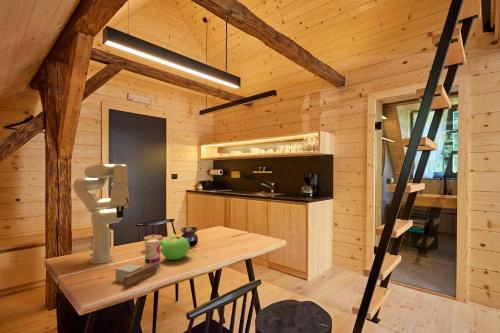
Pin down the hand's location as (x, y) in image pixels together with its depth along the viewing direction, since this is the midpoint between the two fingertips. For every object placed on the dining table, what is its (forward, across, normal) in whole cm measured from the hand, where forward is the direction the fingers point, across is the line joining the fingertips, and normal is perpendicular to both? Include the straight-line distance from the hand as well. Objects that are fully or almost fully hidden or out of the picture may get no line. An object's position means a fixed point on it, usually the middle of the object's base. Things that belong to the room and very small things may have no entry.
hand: (119, 217), depth 154 cm
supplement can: (+29, +16, +9) cm, 35 cm away
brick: (+29, +17, -10) cm, 35 cm away
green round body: (+29, +20, +25) cm, 43 cm away
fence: (+29, +23, -8) cm, 38 cm away
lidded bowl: (+29, -5, +34) cm, 45 cm away
